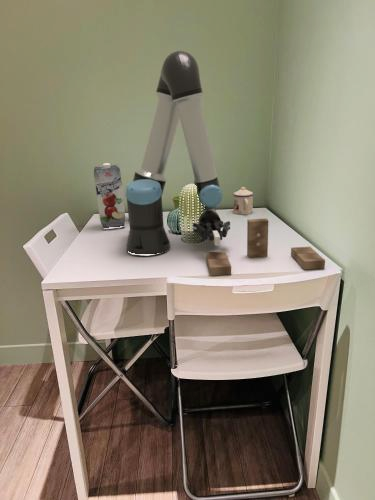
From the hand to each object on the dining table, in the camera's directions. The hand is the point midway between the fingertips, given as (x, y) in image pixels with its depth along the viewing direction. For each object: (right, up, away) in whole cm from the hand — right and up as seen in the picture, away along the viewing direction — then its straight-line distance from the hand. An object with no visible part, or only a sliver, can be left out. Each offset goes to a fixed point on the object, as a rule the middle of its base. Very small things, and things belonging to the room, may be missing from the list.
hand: (217, 241), depth 109 cm
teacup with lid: (+17, +14, +62) cm, 66 cm away
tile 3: (+27, -3, +8) cm, 28 cm away
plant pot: (-11, +13, +62) cm, 65 cm away
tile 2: (+13, -5, +9) cm, 17 cm away
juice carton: (-41, +7, +49) cm, 64 cm away
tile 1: (0, -4, +7) cm, 8 cm away
